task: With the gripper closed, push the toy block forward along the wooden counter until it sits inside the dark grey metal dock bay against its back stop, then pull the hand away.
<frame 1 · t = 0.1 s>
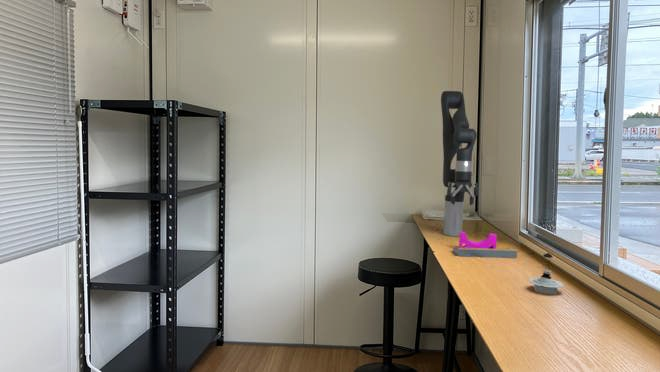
hand: (462, 204, 225), 17 cm above the table, tool pointing down, fingers open, 8 cm apart
dock: (484, 255, 196), on the table
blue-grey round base: (545, 291, 150), on the table
toy block: (476, 250, 207), on the table
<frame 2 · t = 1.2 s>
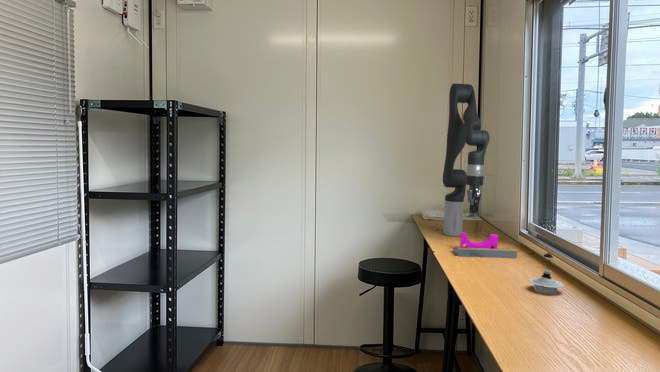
hand: (472, 212, 214), 15 cm above the table, tool pointing down, fingers closed
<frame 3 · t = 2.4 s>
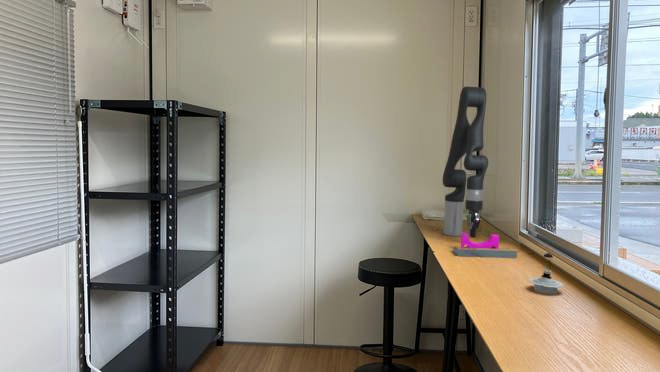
hand: (472, 237, 214), 4 cm above the table, tool pointing down, fingers closed
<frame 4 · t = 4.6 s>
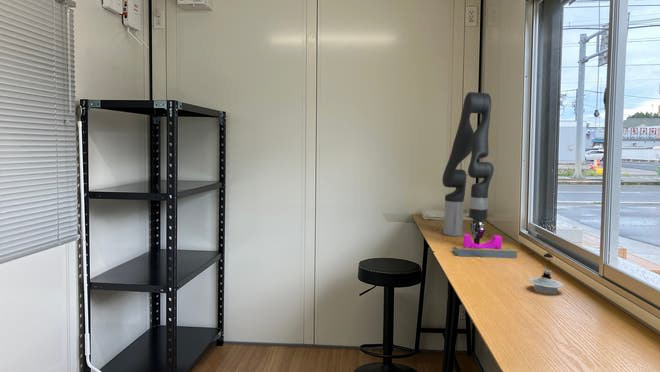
hand: (476, 246, 208), 1 cm above the table, tool pointing down, fingers closed
toy block: (481, 252, 203), on the table
everything else where it was.
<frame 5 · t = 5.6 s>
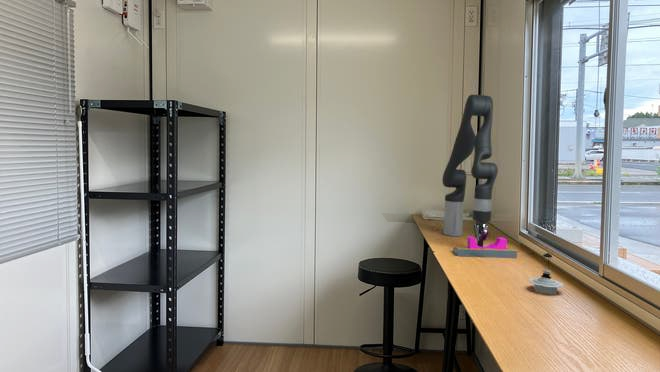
hand: (479, 249, 203), 1 cm above the table, tool pointing down, fingers closed
toy block: (485, 255, 198), on the table
everything else where it was.
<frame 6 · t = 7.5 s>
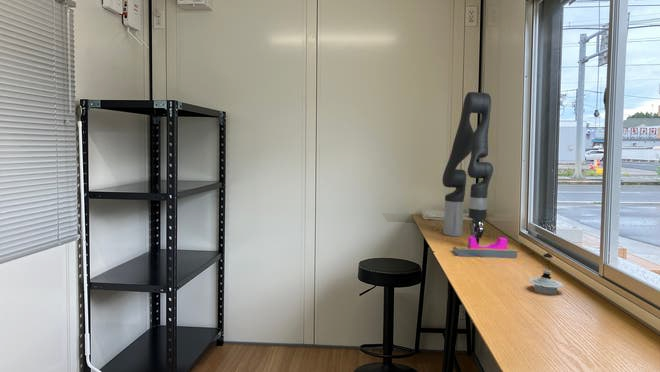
hand: (475, 246, 208), 1 cm above the table, tool pointing down, fingers closed
nothing on the table moved.
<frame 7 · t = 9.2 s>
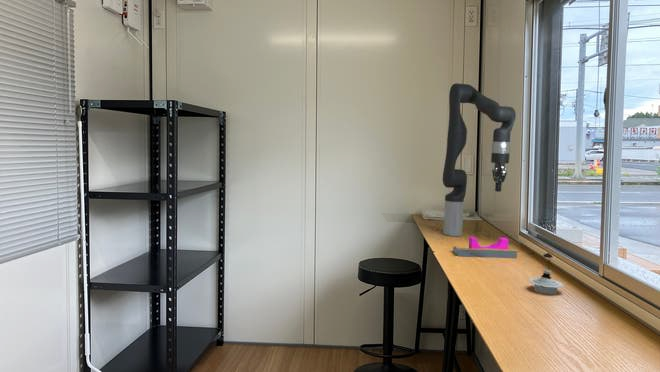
hand: (498, 191, 209), 25 cm above the table, tool pointing down, fingers closed
nothing on the table moved.
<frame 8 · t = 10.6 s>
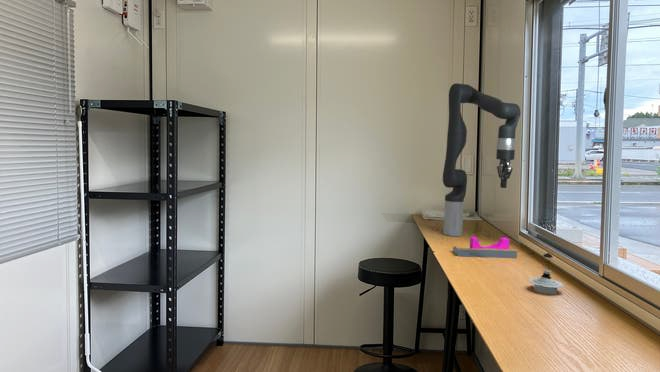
hand: (503, 187, 210), 27 cm above the table, tool pointing down, fingers closed
at the end: toy block inside the target area on the dock (1.8 cm from its centre), point -0.5 cm above the dock's base; toy block tilted 0°; toy block moved 10.0 cm from its start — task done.
